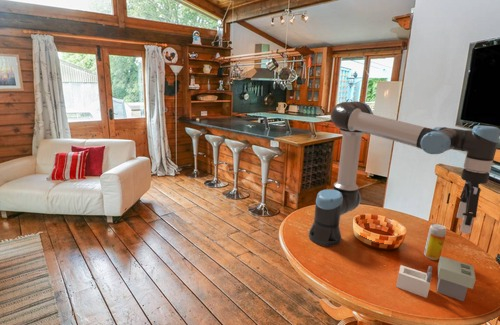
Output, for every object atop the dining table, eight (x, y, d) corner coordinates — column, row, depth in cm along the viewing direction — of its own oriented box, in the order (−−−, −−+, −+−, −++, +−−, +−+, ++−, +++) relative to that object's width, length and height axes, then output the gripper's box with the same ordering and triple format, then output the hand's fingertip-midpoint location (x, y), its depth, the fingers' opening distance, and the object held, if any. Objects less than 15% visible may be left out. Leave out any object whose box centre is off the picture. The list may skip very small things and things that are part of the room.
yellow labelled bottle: (441, 261, 123) (449, 230, 119) (426, 259, 124) (433, 228, 120) (436, 254, 129) (443, 223, 125) (421, 252, 130) (428, 222, 126)
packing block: (437, 292, 105) (441, 275, 103) (437, 284, 109) (441, 268, 107) (463, 301, 100) (468, 284, 99) (462, 293, 105) (467, 276, 103)
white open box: (395, 286, 107) (400, 264, 104) (397, 278, 111) (402, 256, 109) (426, 298, 101) (432, 275, 99) (427, 288, 106) (432, 266, 104)
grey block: (437, 277, 102) (440, 267, 101) (437, 265, 109) (440, 255, 108) (472, 289, 96) (475, 278, 95) (470, 275, 104) (473, 265, 103)
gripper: (497, 181, 88) (480, 242, 94) (483, 164, 109) (470, 215, 115) (467, 177, 92) (453, 236, 97) (459, 161, 113) (448, 210, 118)
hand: (462, 225), depth 106 cm, fingers open, 13 cm apart
